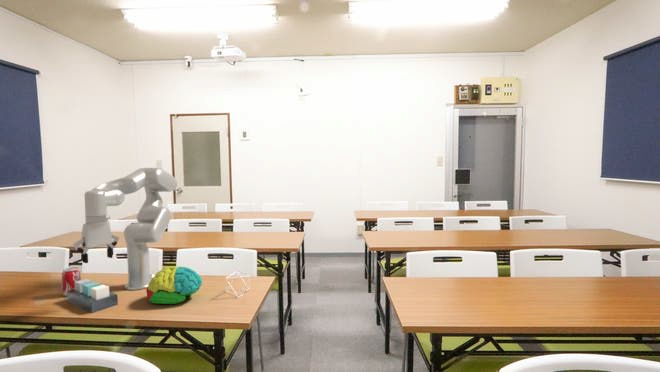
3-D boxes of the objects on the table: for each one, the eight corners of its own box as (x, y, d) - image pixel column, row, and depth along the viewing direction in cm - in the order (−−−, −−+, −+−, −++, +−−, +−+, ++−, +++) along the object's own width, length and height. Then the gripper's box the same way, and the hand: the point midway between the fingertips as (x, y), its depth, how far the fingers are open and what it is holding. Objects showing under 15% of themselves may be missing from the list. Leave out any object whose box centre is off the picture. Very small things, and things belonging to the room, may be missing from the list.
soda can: (71, 297, 158) (69, 271, 157) (58, 296, 159) (57, 270, 159) (84, 291, 165) (83, 267, 164) (72, 290, 166) (71, 266, 166)
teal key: (95, 292, 155) (95, 281, 154) (100, 294, 152) (100, 283, 152) (82, 296, 151) (82, 284, 150) (88, 298, 148) (87, 286, 148)
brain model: (209, 291, 164) (207, 260, 164) (191, 307, 145) (188, 272, 145) (162, 292, 166) (159, 262, 165) (137, 309, 147) (134, 274, 146)
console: (92, 294, 162) (92, 284, 162) (117, 304, 150) (117, 294, 149) (67, 301, 153) (66, 291, 153) (92, 313, 141) (91, 302, 141)
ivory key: (103, 295, 151) (103, 284, 151) (109, 298, 148) (109, 286, 148) (90, 299, 147) (90, 288, 146) (96, 302, 144) (96, 290, 144)
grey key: (87, 289, 159) (87, 278, 158) (92, 291, 156) (92, 280, 156) (75, 292, 155) (74, 281, 154) (80, 294, 152) (79, 283, 152)
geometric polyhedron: (220, 296, 159) (219, 277, 158) (232, 288, 169) (231, 270, 169) (244, 299, 156) (244, 279, 155) (255, 290, 166) (255, 272, 166)
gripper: (113, 216, 155) (115, 254, 156) (68, 221, 140) (70, 263, 141) (122, 217, 151) (123, 256, 152) (76, 223, 136) (78, 266, 137)
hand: (98, 259), depth 146 cm, fingers open, 9 cm apart
